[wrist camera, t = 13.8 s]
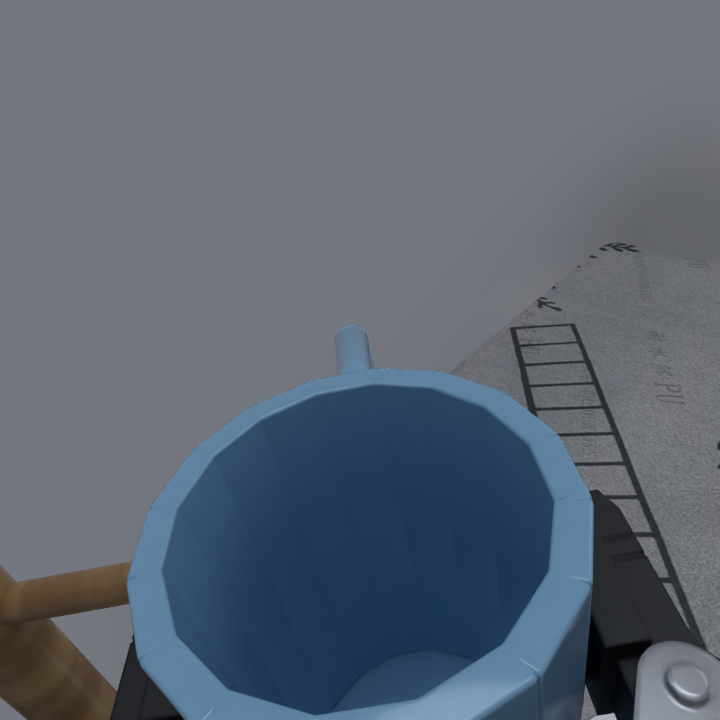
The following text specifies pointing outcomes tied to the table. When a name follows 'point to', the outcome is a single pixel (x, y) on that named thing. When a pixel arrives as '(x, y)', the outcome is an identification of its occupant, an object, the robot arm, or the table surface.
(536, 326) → the table surface
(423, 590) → the mug
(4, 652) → the stand
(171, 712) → the robot arm
